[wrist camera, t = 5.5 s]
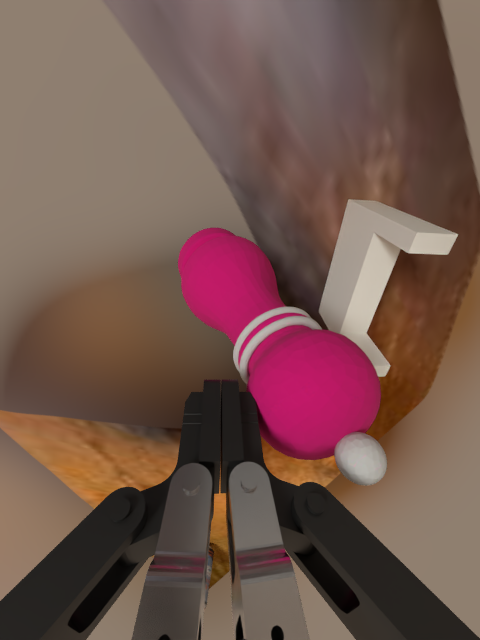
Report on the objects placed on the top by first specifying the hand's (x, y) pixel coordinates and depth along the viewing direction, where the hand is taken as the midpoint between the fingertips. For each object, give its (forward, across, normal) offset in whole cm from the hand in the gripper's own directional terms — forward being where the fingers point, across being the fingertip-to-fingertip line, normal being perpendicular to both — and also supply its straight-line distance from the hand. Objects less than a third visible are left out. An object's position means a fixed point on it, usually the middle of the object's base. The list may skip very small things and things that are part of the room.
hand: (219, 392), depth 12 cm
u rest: (+16, -12, 0) cm, 20 cm away
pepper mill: (+15, +1, 0) cm, 15 cm away
